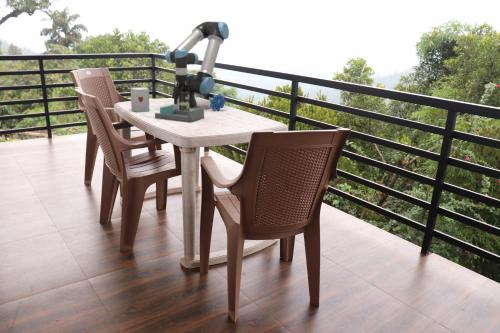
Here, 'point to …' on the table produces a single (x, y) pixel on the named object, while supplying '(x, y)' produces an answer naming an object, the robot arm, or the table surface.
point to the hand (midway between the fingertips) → (181, 107)
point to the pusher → (167, 109)
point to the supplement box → (140, 99)
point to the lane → (183, 115)
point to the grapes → (217, 102)
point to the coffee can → (183, 101)
